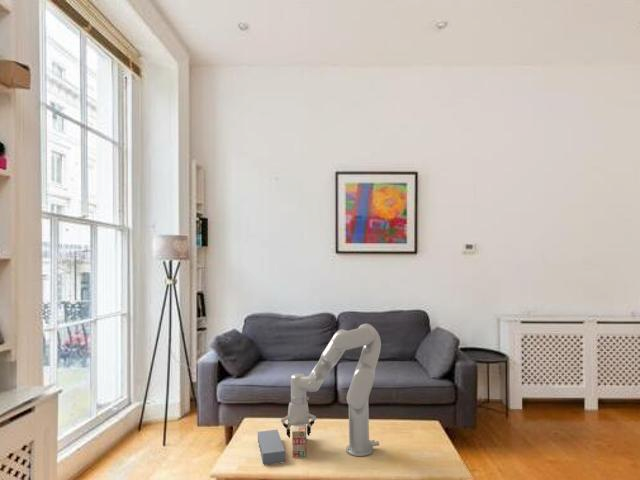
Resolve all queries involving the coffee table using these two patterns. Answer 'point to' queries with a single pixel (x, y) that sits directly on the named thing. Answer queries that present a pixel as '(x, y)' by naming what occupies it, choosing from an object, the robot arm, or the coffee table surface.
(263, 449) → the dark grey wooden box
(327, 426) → the coffee table surface
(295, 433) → the stack of blocks
